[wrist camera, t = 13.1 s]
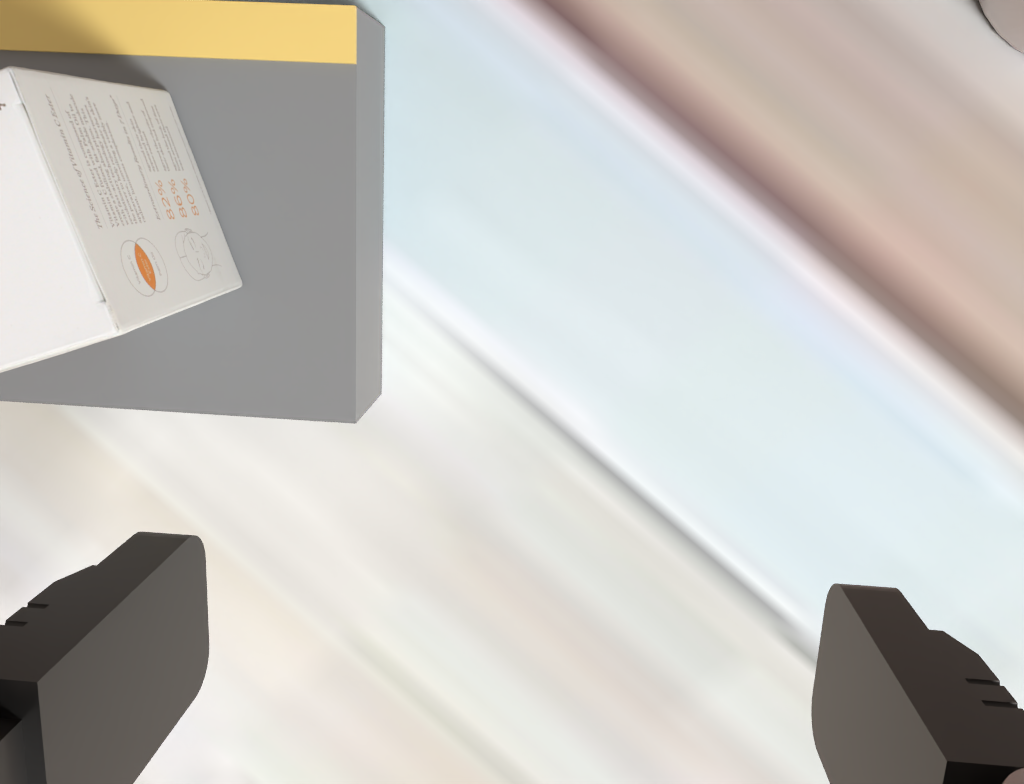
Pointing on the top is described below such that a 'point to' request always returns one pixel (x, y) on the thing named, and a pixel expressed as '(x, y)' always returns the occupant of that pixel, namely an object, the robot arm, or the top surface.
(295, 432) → the top surface
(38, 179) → the small box
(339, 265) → the loading dock
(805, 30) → the top surface
